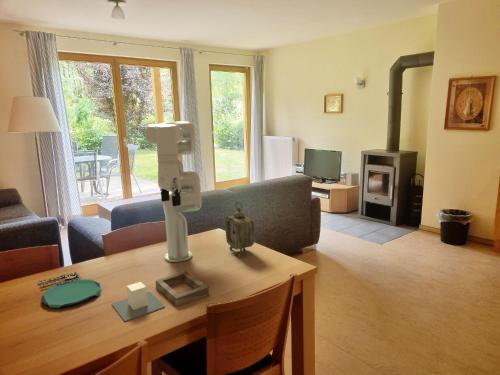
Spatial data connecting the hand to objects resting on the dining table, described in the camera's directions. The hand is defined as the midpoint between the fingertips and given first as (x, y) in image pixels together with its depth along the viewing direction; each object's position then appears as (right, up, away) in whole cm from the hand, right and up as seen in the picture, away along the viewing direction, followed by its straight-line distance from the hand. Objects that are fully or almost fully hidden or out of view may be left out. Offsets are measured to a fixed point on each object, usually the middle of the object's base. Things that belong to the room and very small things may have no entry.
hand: (170, 203), depth 138 cm
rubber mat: (-9, -36, -12) cm, 39 cm away
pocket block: (+4, -33, -2) cm, 34 cm away
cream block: (-9, -35, -12) cm, 38 cm away
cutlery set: (-40, -34, +1) cm, 52 cm away
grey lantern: (+26, -25, +35) cm, 51 cm away
